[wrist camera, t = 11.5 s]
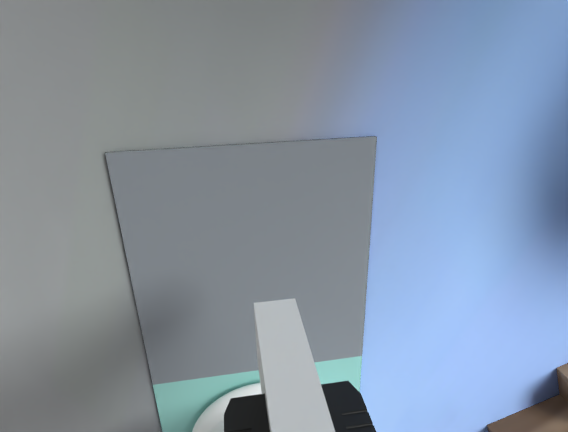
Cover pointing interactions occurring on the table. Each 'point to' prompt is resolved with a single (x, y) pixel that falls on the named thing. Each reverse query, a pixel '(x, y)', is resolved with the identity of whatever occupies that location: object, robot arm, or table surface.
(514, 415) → the t block
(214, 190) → the mat
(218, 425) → the jar
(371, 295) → the table surface
